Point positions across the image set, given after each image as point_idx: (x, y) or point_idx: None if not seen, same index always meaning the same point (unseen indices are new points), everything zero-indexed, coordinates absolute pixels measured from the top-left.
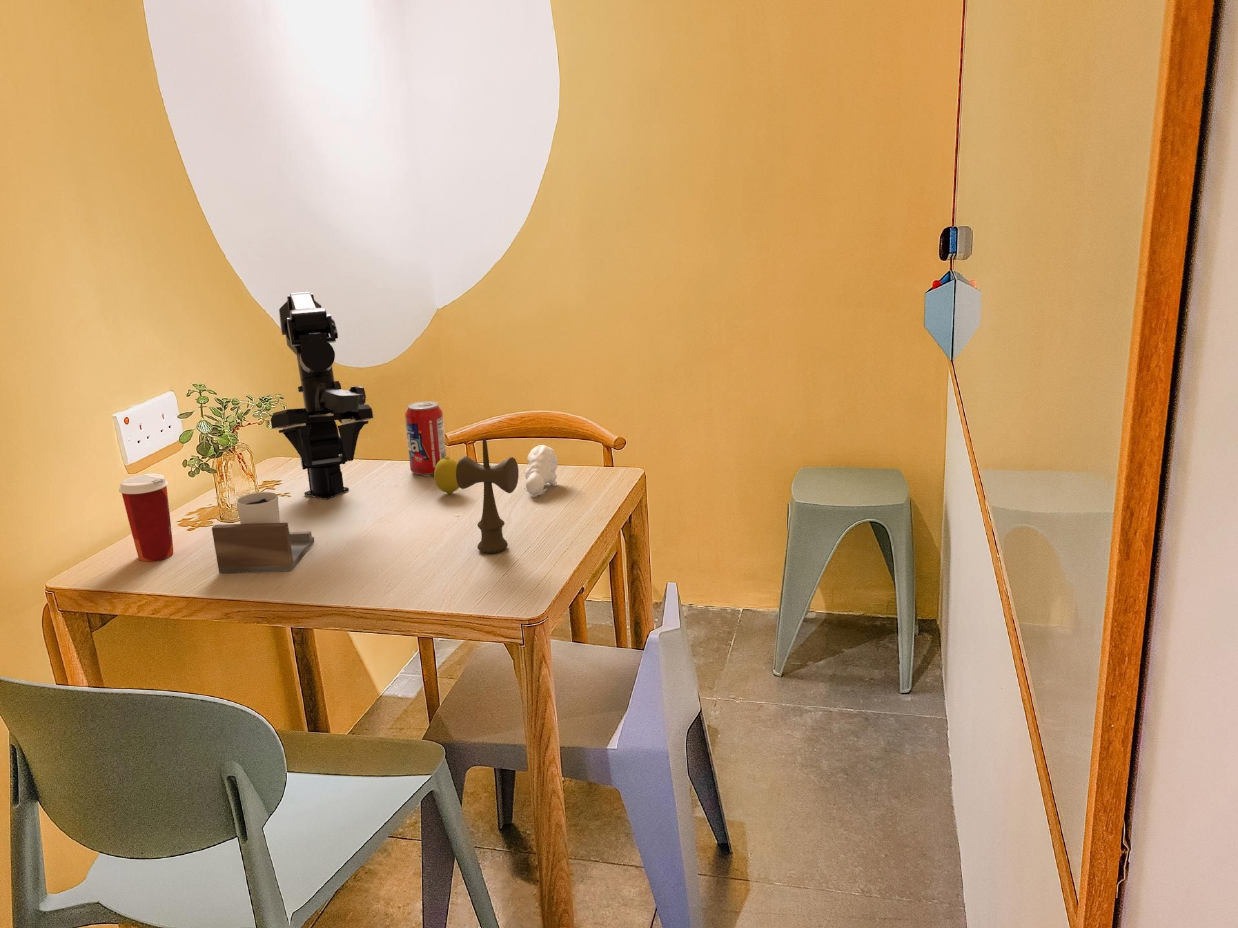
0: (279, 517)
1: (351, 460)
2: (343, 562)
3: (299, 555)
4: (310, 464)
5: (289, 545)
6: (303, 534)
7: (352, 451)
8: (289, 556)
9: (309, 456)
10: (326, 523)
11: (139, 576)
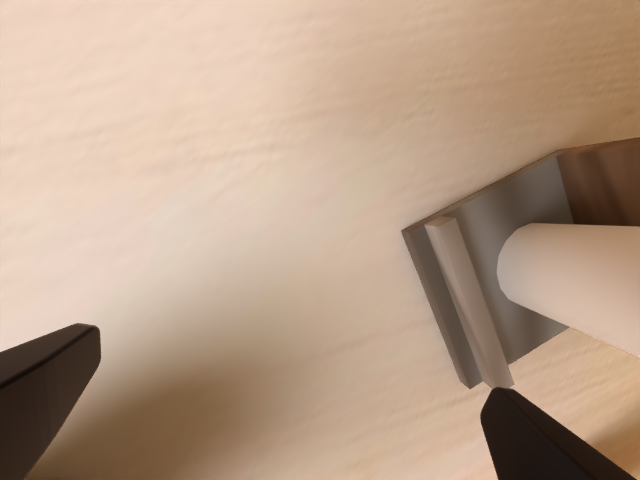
0: (609, 246)
1: (95, 328)
2: (488, 52)
3: (514, 176)
4: (510, 389)
5: (617, 144)
6: (459, 232)
7: (16, 366)
8: (594, 145)
9: (567, 439)
10: (268, 310)
11: (634, 423)
